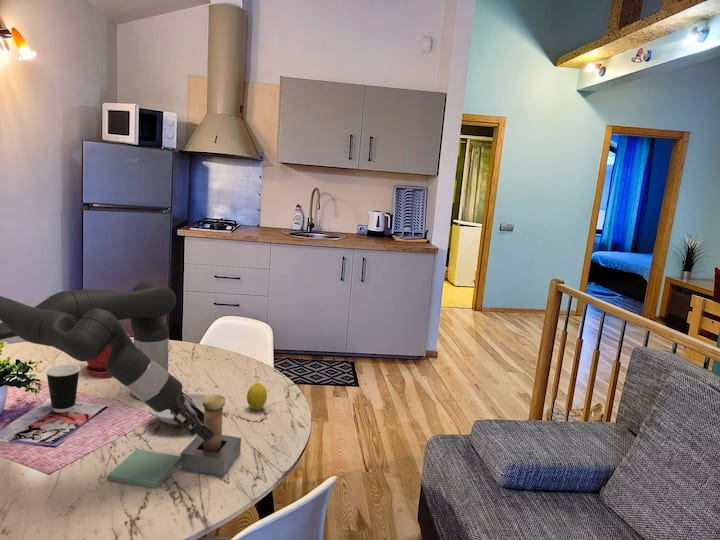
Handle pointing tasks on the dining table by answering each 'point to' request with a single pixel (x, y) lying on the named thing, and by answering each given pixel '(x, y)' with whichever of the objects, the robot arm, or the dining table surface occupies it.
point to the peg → (213, 421)
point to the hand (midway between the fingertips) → (207, 428)
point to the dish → (166, 414)
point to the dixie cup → (63, 386)
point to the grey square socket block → (210, 456)
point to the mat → (144, 468)
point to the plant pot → (100, 363)
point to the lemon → (256, 396)
